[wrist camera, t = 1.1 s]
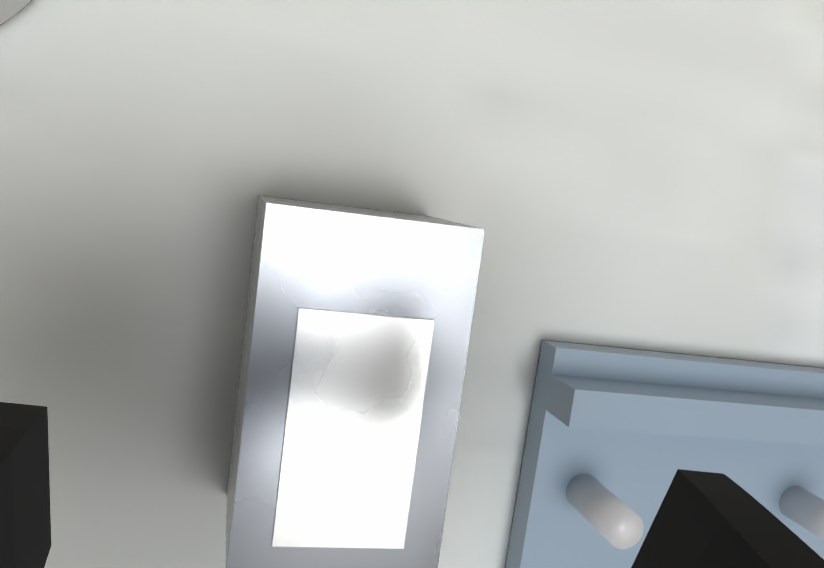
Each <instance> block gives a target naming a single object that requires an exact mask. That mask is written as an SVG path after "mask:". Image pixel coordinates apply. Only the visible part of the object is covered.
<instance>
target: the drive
mask: <svg viewBox="0 0 824 568" xmlns="http://www.w3.org/2000/svg"><path fill="white" fill-rule="evenodd" d="M484 231H485V229H481V228H477V227H472V226H468V225H464V224H460V223H455V222H451V221H447V220H443V219H438V218H434V217H430V216H423V215H415V214H407V213H399V212H391V211H383V210H375V209H366V208H358V207H350V206H342V205H334V204H326V203H318V202H310V201H301V200H293V199H285V198H277V197H269V196H261V195H259V196H258V205H257V215H256V224H255V234H254V243H253V253H252V262H251V272H250V281H249V290H248V300H247V309H246V319H245V328H244V338H243V347H242V357H241V366H240V376H239V385H238V395H237V404H236V414H235V423H234V433H233V442H232V452H231V461H230V471H229V480H228V490H227V521H226V568H438V561H439V554H440V547H441V540H442V533H443V526H444V518H445V511H446V504H447V497H448V490H449V483H450V475H451V468H452V461H453V454H454V447H455V439H456V432H457V425H458V418H459V411H460V404H461V396H462V389H463V382H464V375H465V368H466V360H467V353H468V346H469V339H470V332H471V325H472V317H473V310H474V303H475V296H476V289H477V282H478V274H479V267H480V260H481V253H482V246H483V238H484Z"/></svg>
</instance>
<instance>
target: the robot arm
mask: <svg viewBox="0 0 824 568" xmlns="http://www.w3.org/2000/svg"><path fill="white" fill-rule="evenodd" d="M50 547H51V524H50V488H49V452H48V416H47V407H44V406H34V405H24V404H14V403H4V402H0V568H44V566H45V563H46V560H47V557H48V554H49V550H50ZM631 568H824V559H823V558H821V557H820V556H819V555H818V554H817V553H816V552H815V551H814V550H812V549H811V548H810V547H809V546H808V545H807V544H806V543H805V542H804V541H802V540H801V539H800V538H799V537H798V536H797V535H796V534H795V533H793V532H792V531H791V530H790V529H789V528H788V527H787V526H786V525H784V524H783V523H782V522H781V521H780V520H779V519H778V518H777V517H775V516H774V515H773V514H772V513H771V512H770V511H769V510H767V509H766V508H765V507H764V506H763V505H762V504H760V503H759V502H758V501H757V500H756V499H755V498H753V497H752V496H751V495H750V494H749V493H747V492H746V491H745V490H744V489H743V488H741V487H740V486H739V485H738V484H736V483H735V482H734V481H733V480H731V479H730V478H729V477H728V476H726V475H725V474H722V473H712V472H702V471H692V470H681V469H678V470H677V472H676V474H675V476H674V478H673V480H672V482H671V484H670V487H669V489H668V491H667V493H666V495H665V497H664V499H663V501H662V504H661V506H660V508H659V510H658V512H657V514H656V516H655V518H654V520H653V523H652V525H651V527H650V529H649V531H648V533H647V535H646V537H645V540H644V542H643V544H642V546H641V548H640V550H639V552H638V554H637V556H636V559H635V561H634V563H633V565H632V567H631Z"/></svg>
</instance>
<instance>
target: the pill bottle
mask: <svg viewBox="0 0 824 568" xmlns="http://www.w3.org/2000/svg"><path fill="white" fill-rule="evenodd" d="M30 1H31V0H0V24H2V23H4V22H5V21H7V20H8V19H10V18H11V17H12V16H14V15H15V14H16V13H18V12H19V11H20V10H21V9H23V8H24V7H25V6H26V5H27V4H28V3H29V2H30Z"/></svg>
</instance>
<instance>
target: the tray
mask: <svg viewBox="0 0 824 568" xmlns="http://www.w3.org/2000/svg"><path fill="white" fill-rule="evenodd" d="M678 469H681V470H692V471H702V472H712V473H722V474H725V475H726V476H728V477H729V478H730V479H731V480H733V481H734V482H735V483H736V484H738V485H739V486H740V487H741V488H743V489H744V490H745V491H746V492H747V493H749V494H750V495H751V496H752V497H753V498H755V499H756V500H757V501H758V502H759V503H760V504H762V505H763V506H764V507H765V508H766V509H767V510H769V511H770V512H771V513H772V514H773V515H774V516H775V517H777V518H778V519H779V520H780V521H781V522H782V523H783V524H784V525H786V526H787V527H788V528H789V529H790V530H791V531H792V532H793V533H795V534H796V535H797V536H798V537H799V538H800V539H801V540H802V541H804V542H805V543H806V544H807V545H808V546H809V547H810V548H811V549H812V550H814V551H815V552H816V553H817V554H818V555H819V556H820V557H821V558H823V559H824V368H816V367H806V366H796V365H786V364H776V363H766V362H756V361H746V360H736V359H726V358H716V357H706V356H696V355H686V354H676V353H666V352H657V351H647V350H637V349H627V348H617V347H607V346H597V345H587V344H577V343H567V342H557V341H547V340H542V344H541V350H540V356H539V362H538V368H537V375H536V381H535V387H534V393H533V399H532V406H531V412H530V418H529V424H528V430H527V436H526V443H525V449H524V455H523V461H522V467H521V474H520V480H519V486H518V492H517V498H516V504H515V511H514V517H513V523H512V529H511V535H510V541H509V548H508V554H507V560H506V566H505V568H631V567H632V565H633V563H634V561H635V559H636V556H637V554H638V552H639V550H640V548H641V546H642V544H643V542H644V540H645V537H646V535H647V533H648V531H649V529H650V527H651V525H652V523H653V520H654V518H655V516H656V514H657V512H658V510H659V508H660V506H661V504H662V501H663V499H664V497H665V495H666V493H667V491H668V489H669V487H670V484H671V482H672V480H673V478H674V476H675V474H676V472H677V470H678Z"/></svg>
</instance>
